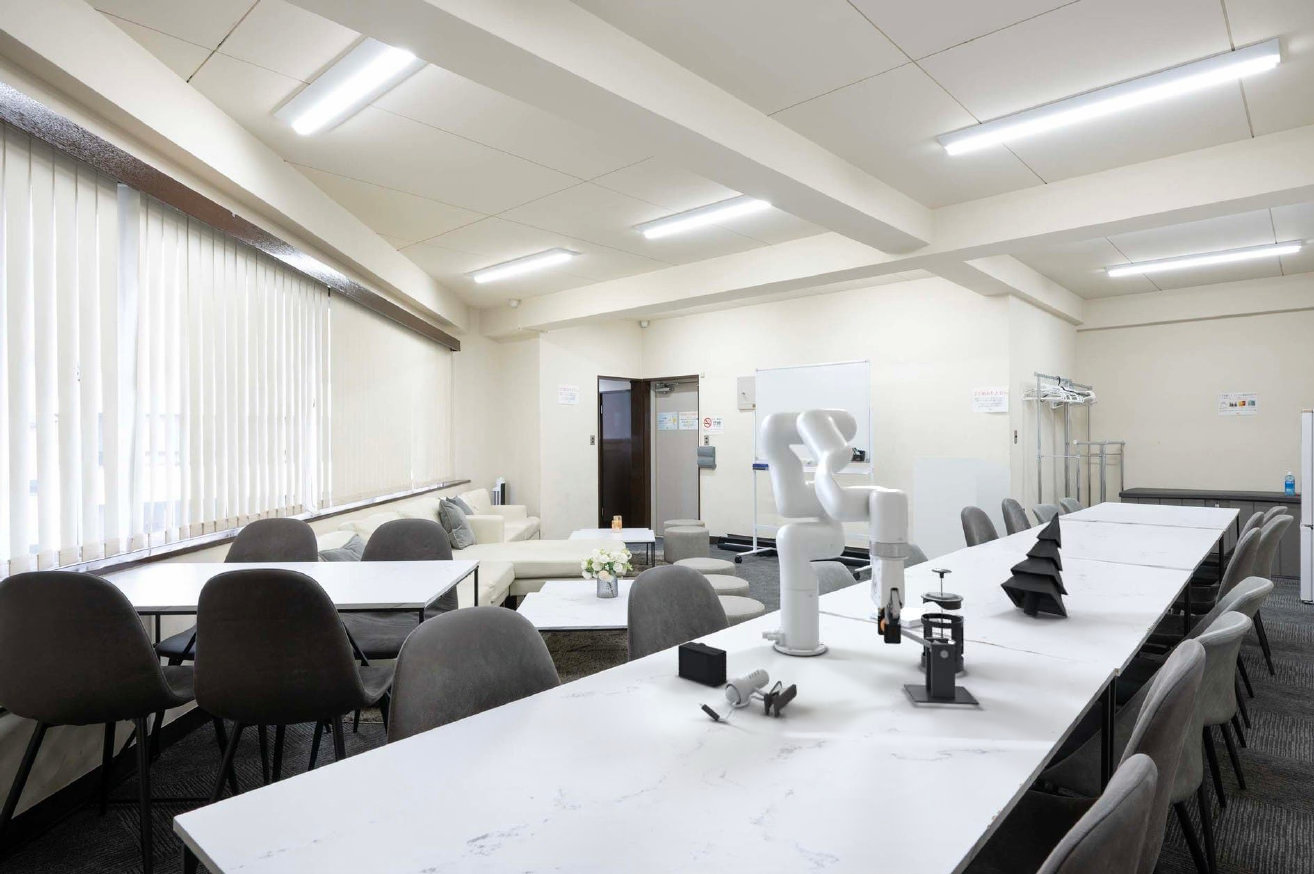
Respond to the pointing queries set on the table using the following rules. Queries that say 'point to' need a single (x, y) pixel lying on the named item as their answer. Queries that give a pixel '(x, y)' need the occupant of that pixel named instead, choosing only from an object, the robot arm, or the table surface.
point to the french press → (957, 621)
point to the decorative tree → (1039, 576)
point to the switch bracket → (940, 677)
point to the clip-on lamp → (750, 684)
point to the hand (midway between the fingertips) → (889, 638)
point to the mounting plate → (909, 616)
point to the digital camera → (702, 663)
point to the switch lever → (912, 636)
